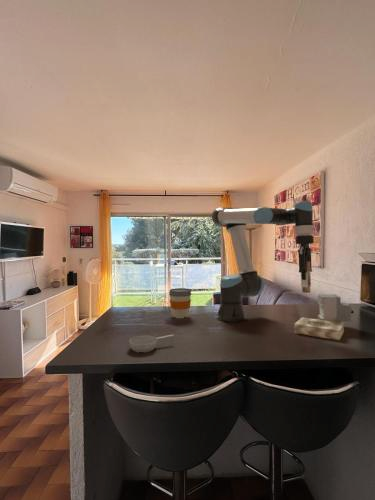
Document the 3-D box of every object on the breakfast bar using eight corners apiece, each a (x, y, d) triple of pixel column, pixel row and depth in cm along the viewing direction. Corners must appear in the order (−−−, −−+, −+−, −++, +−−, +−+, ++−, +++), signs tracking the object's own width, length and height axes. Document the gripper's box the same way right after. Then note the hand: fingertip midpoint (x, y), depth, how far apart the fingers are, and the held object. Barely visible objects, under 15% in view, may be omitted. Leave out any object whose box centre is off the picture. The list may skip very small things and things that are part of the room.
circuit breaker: (354, 329, 129) (354, 297, 129) (321, 328, 132) (321, 296, 132) (349, 325, 136) (349, 294, 136) (317, 324, 139) (317, 294, 139)
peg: (300, 292, 127) (299, 261, 127) (302, 291, 130) (301, 261, 130) (309, 293, 124) (308, 261, 125) (312, 291, 128) (311, 261, 128)
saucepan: (127, 346, 112) (126, 336, 112) (169, 339, 119) (169, 330, 119) (132, 356, 102) (132, 345, 102) (178, 348, 109) (178, 338, 109)
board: (294, 332, 126) (294, 323, 126) (302, 325, 137) (302, 317, 137) (339, 340, 115) (339, 330, 115) (343, 331, 127) (343, 322, 126)
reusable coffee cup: (195, 315, 160) (195, 289, 160) (183, 320, 150) (183, 292, 149) (177, 312, 167) (177, 287, 167) (164, 317, 156) (164, 290, 156)
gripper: (308, 234, 119) (309, 289, 118) (317, 235, 132) (319, 284, 132) (290, 235, 123) (291, 288, 123) (301, 236, 137) (302, 284, 136)
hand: (306, 286), depth 127 cm, fingers closed on peg, 4 cm apart
